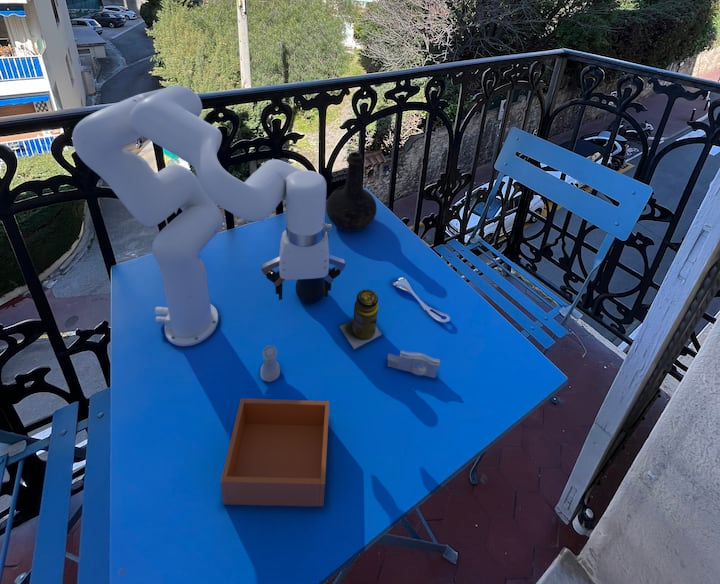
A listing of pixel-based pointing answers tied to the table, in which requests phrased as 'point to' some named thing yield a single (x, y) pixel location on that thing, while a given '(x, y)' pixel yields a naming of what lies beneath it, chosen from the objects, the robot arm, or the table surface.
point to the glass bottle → (352, 200)
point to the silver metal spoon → (405, 285)
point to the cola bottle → (310, 289)
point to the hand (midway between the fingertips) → (303, 293)
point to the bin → (277, 454)
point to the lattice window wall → (409, 359)
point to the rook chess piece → (270, 364)
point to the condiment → (363, 320)
